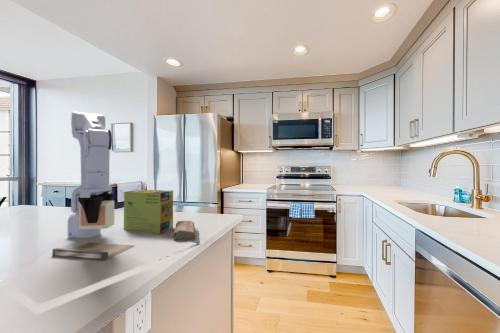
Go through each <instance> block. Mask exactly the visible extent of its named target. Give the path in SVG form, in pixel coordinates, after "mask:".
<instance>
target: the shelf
mask: <svg viewBox="0 0 500 333" xmlns="http://www.w3.org/2000/svg"><path fill="white" fill-rule="evenodd" d="M132 248H135V245H130V244H129V245H128V244H118V243H117V244H116V243H103V242H91V241H90V242H87V243H84V244H82V245H79V246H76V247H72V248H61V247H55V248H53V249H52V253H51V254H52V256H51V257H61V258H69V259H71V258H72V259H83V260H93V261H107V260H109V259H112V258H113V257H115V256H117V255H119V254H121V253H123V252H125V251H128V250H130V249H132Z"/></svg>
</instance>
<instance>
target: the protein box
mask: <svg viewBox="0 0 500 333" xmlns="http://www.w3.org/2000/svg"><path fill="white" fill-rule="evenodd" d="M123 194H124V196H123V230H129V231H133V230H134V231H139V232H144V233H148V234H153V235H162V234H164V233H165V232H167V231H169V230H172V229H174V190H163V189H138V190H137V189H136V190H129V191H124V193H123Z"/></svg>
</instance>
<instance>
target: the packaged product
mask: <svg viewBox="0 0 500 333" xmlns="http://www.w3.org/2000/svg"><path fill="white" fill-rule="evenodd" d="M170 230H171V231H170V234H169V236H168V238H172V239H173V241H175V242H176V241H185V242H190V243H193V244H196V245H199V228H195V222H194V221H192V220H179V221H178V220H177V221H176V224H175V227H174V228H171V229H170Z"/></svg>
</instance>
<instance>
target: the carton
mask: <svg viewBox="0 0 500 333" xmlns="http://www.w3.org/2000/svg"><path fill="white" fill-rule="evenodd" d="M114 225H115V200H112V201H102V203H101V205H100V209H99V216H98V221H97V223H88V222H87V219H86V215H85V212H84V209H83V207H82V205H81V204H80V203H79V229H101V230H102V229H104V230H105V229H106V230H107V229H109V228H111V227H112V226H114Z"/></svg>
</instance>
